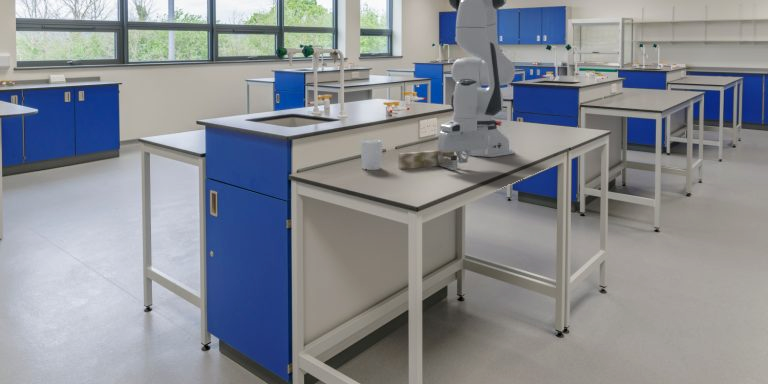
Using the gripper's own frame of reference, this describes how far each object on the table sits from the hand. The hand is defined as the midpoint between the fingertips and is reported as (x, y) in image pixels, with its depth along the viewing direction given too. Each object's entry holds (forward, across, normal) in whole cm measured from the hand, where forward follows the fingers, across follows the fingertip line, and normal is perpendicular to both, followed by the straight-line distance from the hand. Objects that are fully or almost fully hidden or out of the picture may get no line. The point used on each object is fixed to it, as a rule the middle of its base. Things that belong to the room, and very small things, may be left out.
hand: (462, 162), depth 226 cm
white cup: (+2, +30, -15) cm, 34 cm away
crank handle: (+2, +5, -3) cm, 6 cm away
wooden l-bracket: (+2, +11, -8) cm, 14 cm away
